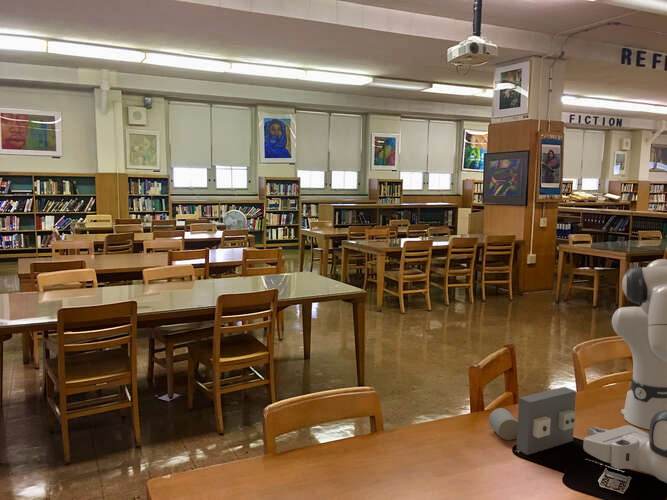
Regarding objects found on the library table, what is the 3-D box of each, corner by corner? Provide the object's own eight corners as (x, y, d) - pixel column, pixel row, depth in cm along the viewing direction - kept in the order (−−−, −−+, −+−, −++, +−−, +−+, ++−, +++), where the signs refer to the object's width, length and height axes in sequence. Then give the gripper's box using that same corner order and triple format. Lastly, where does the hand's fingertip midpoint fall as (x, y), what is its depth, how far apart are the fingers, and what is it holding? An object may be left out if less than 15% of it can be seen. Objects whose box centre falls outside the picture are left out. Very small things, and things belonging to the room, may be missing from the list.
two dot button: (560, 421, 163) (561, 405, 162) (575, 427, 158) (576, 412, 158) (549, 424, 161) (550, 408, 160) (564, 431, 156) (565, 415, 155)
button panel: (561, 435, 165) (564, 386, 163) (572, 440, 162) (575, 391, 160) (516, 449, 156) (519, 397, 154) (527, 455, 152) (529, 402, 151)
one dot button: (536, 428, 158) (536, 412, 157) (550, 435, 153) (551, 418, 153) (524, 431, 155) (525, 415, 155) (538, 438, 151) (539, 422, 150)
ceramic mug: (498, 442, 160) (500, 418, 159) (487, 430, 168) (489, 407, 167) (531, 441, 161) (533, 417, 161) (518, 429, 169) (520, 407, 169)
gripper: (661, 431, 143) (614, 413, 155) (614, 447, 133) (567, 426, 146) (659, 453, 144) (612, 433, 156) (612, 470, 134) (566, 447, 146)
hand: (590, 430), depth 151 cm, fingers closed
